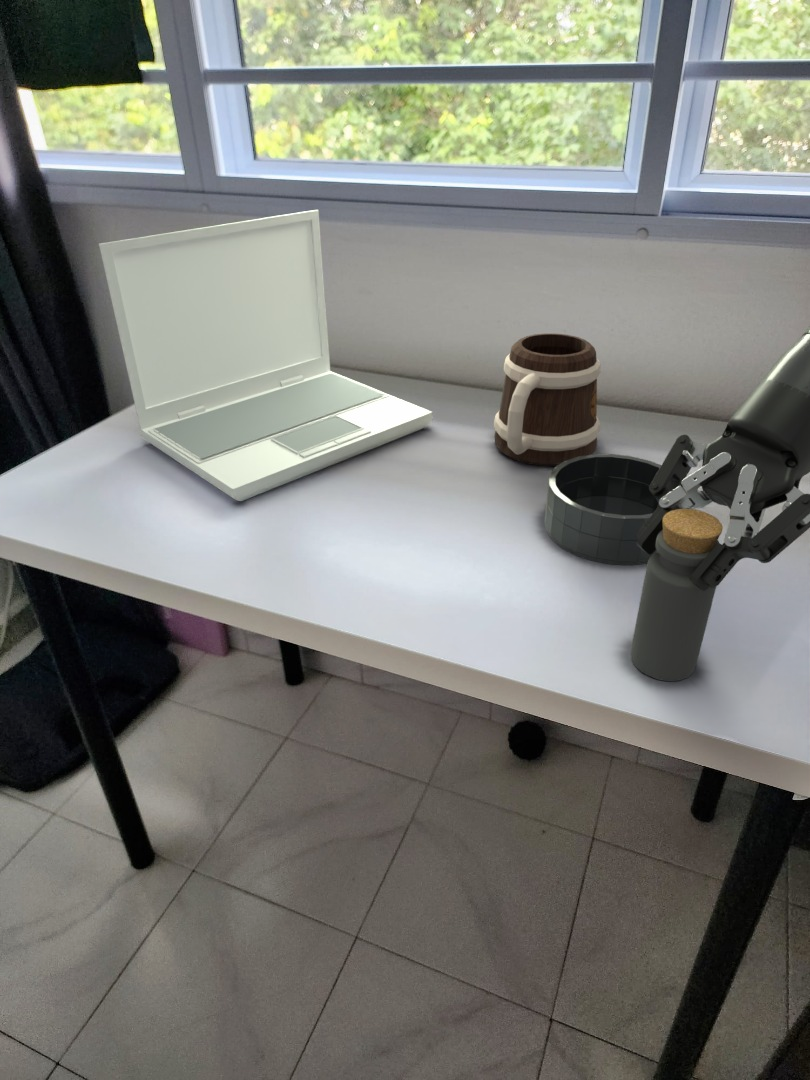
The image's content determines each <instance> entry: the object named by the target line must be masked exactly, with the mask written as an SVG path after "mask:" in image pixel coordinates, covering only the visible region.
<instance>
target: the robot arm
mask: <svg viewBox="0 0 810 1080" xmlns="http://www.w3.org/2000/svg"><path fill="white" fill-rule="evenodd" d="M701 461H702V463H701V465H702V467H700V468H699V469H697V470H696V471H694V472H693V473H691V474H689V472H690V471H691V469H692V468H697V467H698V465H699V464H698V463H699V462H701ZM660 465H661V467H660V469H659V470H658V472H657V474H656V475H655V477H654V479H653V481H652V482H651V484H650V486H649V490H650V492H651V493H652V494H653V495H654V497H655V498H656V500H657V501H658V507H657V509H656V510H655V511H654V513H653V514H652V515H651V516H650V518H649V519H648V520H647V521H646V523H645V524H644V525H643V526H642V527H641V529H640V530H639V532H638V534H637V537H638V539H637V541H636V544H637V545H638V546H639V547H640V548H641V549H642V550H643V551H644V552H646V553H647V554H649V555H650V554H652V553H654V552H655V550H656V546H655V545H656V539H657V535H658V534H659V532H661V531H662V530H663V517H664V515H665V514H666V513H668V512H670V511H673V510H677V509H693V510H697V509H702V508H705V507H707V506H708V505H710V504H712V503H713V502H714V503H715V504H717V505H720V506H724V507H727V508H728V509H729V523H728V525H727V530H726V533H725V535H724V539H723V543H720V542H719V543H717V544H716V546H715V547H714V548H713V549H712V550H711V552H710V553H709V554H708V555H707V556H706V558H705V559H704V560H703V561H702V563H701V564H700V565H699V566H698V567H697V569H696V570H695V571H694V572H693V573H692V575H691V577H690V581H691V582H692V583H693V584H694V585H695V586H697V587H698V588H700V589H701V590H703V591H706V590H707V589H708V588H709V587H711V588H714V587H716V588H717V586H719V585H721V583H722V581H723V580H724V579H725V578H726V577H727V575H729V573H730V572H731V571H732V569H733V568H734V567H735V566H736V565H737V564H738V563H739V561H741V560H743V559H752V560H757V561H758V562H760V563H762V564H768V563H770V562H772V561H773V560H774V559H775V558H776V557H777V556H778V555H780V554H781V553H782V552H783V551H784V550H786V549H787V548H788V547H789V546H790V545H791V544H792V543H794V542H795V541H797V539H799V538H800V537H801V536H802V535H803V534H805V532H806V531H808V530H809V529H810V493H804V492H803V491H801V490H800V489H799V487H800V482H801V480H802V479H803V477H804V476H806V475H808V474H810V325H809V326H808V328H807V329H806V330H805V331H804V332H803V333H802V335H801V336H800V337H799V339H797V341H796V342H795V343H794V344H793V345H791V347H789V349H787V350H786V351H785V352H784V353H783V354H782V355H781V356H780V357H779V358H778V359H777V361H776V362H775V363H774V364H773V366H772V367H771V368H770V369H769V370H768V372H767V373H766V375H764V377H763V378H762V379H761V381H760V382H759V383H758V384H757V385H756V386H755V388H753V390H752V392H750V394H749V395H748V396H747V397H746V399H745V400H744V401H743V403H742V404H741V405H740V406H739V407H738V409H737V410H735V412H734V414H733V415H732V416H731V417H730V418H729V420H728V422H727V423H726V427H725V429H724V431H723V432H722V434H721V435H720V436H719V437H717V438H716V439H714V440H712V441H711V442H709V443H708V444H705V443H701V442H696V441H693V440H692V439H691V437H690V436H689V435H688V434H680V435H679V436H678V437H677V438H676V440H675V441H674V443H673V445H672V446H671V448H670V450H669V452H668V453H667V455H666V457H665V458H664V460H663V462H662V463H661V464H660ZM700 487H701V489H702V490H699V488H700ZM782 503H784V504H783V505H782V508H781V510H782V511H781V512H780V513H779V514H778V515H776V517H775V518H773V519H772V520H771V521H769V523H767V524H766V525H765V526H764V527H763V528H762V529H761V526H762V522H763V519H764V516H765V512H766V509H768V508H771V507H774V506H777V505H779V504H782ZM760 529H761V530H760Z"/></svg>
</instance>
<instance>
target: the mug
mask: <svg viewBox="0 0 810 1080" xmlns="http://www.w3.org/2000/svg"><path fill="white" fill-rule="evenodd" d="M503 372H504V374H505V377H504V382H503V383H504V384H503V388H502V394H501V399H500V405H499V410H498V412H497V413H496V414H495V416H494V420H493V429H494V430H495V431H494V444H495V445H496V447H497V448H498V449H499V450H500V452H501V453H502V454H504V455H506V456H507V457H509V458H511V460H515V461H518V462H521V463H524V464H527V465H528V464H529V465H533V466H534V465H535V466H540V467H541V466H542V467H543V466H545V467H556V466H558V465H559V464H561V463H562V462H564V461H567V460H570V459H573V458H575V457H579V456H586V455H592V454H594V452H595V450H596V448H597V447H598V446H597V445H598V437H599V435H600V432H601V423H600V420H599V417H598V416H597V413H598V412H597V408H598V407H597V405H598V404H597V403H598V396H597V395H598V378H599V376H600V374H601V373H602V372H601V363H600V360H599V358H598V357H597V351H596V349H595V347H594V346H593V344H591V343H590V342H589V341H587V339H584V338H581V337H579V336H575V335H571V334H565V333H537V334H536V333H535V334H531V335H526V336H524V337H521V338H520V339H518V340H517V341H516V342H514V343H513V345H512V346H511V348H510V352H509V354H508V355H507V356H506V357H505V359H504V363H503Z"/></svg>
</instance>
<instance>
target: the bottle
mask: <svg viewBox="0 0 810 1080" xmlns="http://www.w3.org/2000/svg"><path fill="white" fill-rule="evenodd" d="M723 527H724V526H723V524H722V523H721V521H720V520H719V519H718V518H717V517H715V516H714V515H712V514H710V513H708V512H705V511H702V510H698V509H694V510H693V509H677V510H673V511H670V512H668V513H666V514H665V515H664V517H663V530H662V531H661V532H659V534H658V535H657V539H656V545H655V546H656V550H657V551H658V552H656V553H654V554H653V555H652V556H651V557H650V558H649V560H648V563H646V569H645V573H644V578H643V583H642V588H641V593H640V599H639V605H638V609H637V615H636V620H635V626H634V632H633V637H632V642H631V648H630V658H631V659H630V660H631V661H632V663H633V665H634V667H636V668H637V669H638V670H639V671H640V672H641V673H643V674H644V675H646V676H647V677H650V678H652V679H655V680H659V681H665V682H676V681H678V682H679V681H682V680H685V679H687V678H688V677H690V676H691V675H693V673H694V671H696V670H695V669H696V666H697V663H698V660H699V655H700V652H701V648H702V645H703V641H704V636H705V632H706V629H707V625H708V620H709V616H710V612H711V610H712V609H711V608H712V605H713V601H714V597H715V594H716V588H717V586H716V587H714V588H711V587H709V588H708V589H707V590H706V591H703V590H701V589H700V588H698V587H697V586H695V585H694V584H693V583H692V582H691V581H690V577H691V575H692V573H693V572H694V571H695V570H696V569H697V567H698V566H699V565H700V564H701V563H702V561H703V560H704V559H705V558H706V556H707V555H708V554H709V553H710V552H711V550H712V549H713V548H714V547H715V546H716V544H717V543H720V541H719V538H720V536H721V534H722V533H723V529H724V528H723Z"/></svg>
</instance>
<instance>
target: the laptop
mask: <svg viewBox="0 0 810 1080" xmlns="http://www.w3.org/2000/svg"><path fill="white" fill-rule="evenodd" d="M98 247H99V252H100V256H101V261H102V265H103V269H104V274H105V278H106V283H107V287H108V292H109V296H110V301H111V305H112V309H113V314H114V318H115V323H116V328H117V331H118V337H119V340H120V345H121V349H122V354H123V358H124V363H125V367H126V372H127V376H128V381H129V385H130V389H131V394H132V399H133V402H134V408H135V411H136V412H135V413H136V415H137V417H136V418H137V421H138V426H139V429H140V431H139V435H140V438H142V439H143V440H145V441H146V442H148V443H149V444H151V445H152V446H153V447H155V448H157V449H158V450H160V451H161V452H163V453H165V454H166V455H167V456H169V457H170V458H172V459H173V460H175V461H176V462H178V463H180V464H181V465H182V466H184V467H185V468H187V469H188V470H190V471H191V472H193V473H194V474H195V475H197V476H198V477H200V478H202V479H203V480H204V481H207V482H208V483H209V484H211V485H212V486H214V487H216V488H217V489H218V490H220V491H222V492H223V493H224V494H225V495H228V496H229V497H230V498H232V499H233V500H235V501H239V502H243V501H245V500H248V499H250V498H251V499H252V497H256V496H258V495H261V494H263V493H265V492H268V491H271V490H273V489H275V488H278V487H281V486H283V485H285V484H288V483H291V482H294V481H296V480H298V479H301V478H303V477H305V476H308V475H311V474H313V473H316V472H318V471H320V470H323V469H325V468H328V467H330V466H334V465H336V464H338V463H340V462H343V461H346V460H348V459H351V458H353V457H355V456H358V455H361V454H363V453H365V452H369V451H370V450H373V449H375V448H378V447H380V446H383V445H386V444H388V443H390V442H393V441H395V440H398V439H400V438H403V437H405V436H408V435H411V434H413V433H415V432H418V431H420V430H423V429H424V428H425V427H427V426H428V425H430V424H431V423H432V421H433V417H434V416H433V411H431V410H429V409H426V408H424V407H421V406H419V405H416V404H414V403H411V402H409V401H406V400H404V399H401V398H399V397H396V396H394V395H391V394H389V393H386V392H384V391H381V390H379V389H377V388H374V387H372V386H369V385H366V384H364V383H361V382H359V381H357V380H354V379H352V378H349V377H347V376H344V375H341V374H339V373H336V372H334V371H331V361H330V360H331V359H330V349H329V348H330V347H329V335H328V321H327V320H328V319H327V306H326V294H325V281H324V280H325V279H324V267H323V266H324V265H323V253H322V240H321V225H320V211H319V209H313V210H307V211H299V212H294V213H287V214H281V215H280V214H279V215H274V216H267V217H262V218H261V217H260V218H255V219H247V220H242V221H237V222H231V223H230V222H229V223H223V224H217V225H210V226H205V227H197V228H192V229H185V230H178V231H173V232H165V233H159V234H154V235H146V236H140V237H133V238H128V239H127V238H126V239H120V240H115V241H108V242H101V243H98Z"/></svg>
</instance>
